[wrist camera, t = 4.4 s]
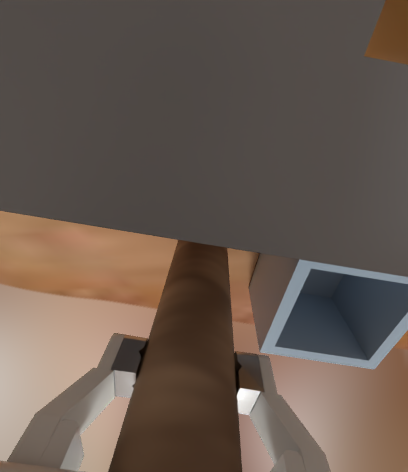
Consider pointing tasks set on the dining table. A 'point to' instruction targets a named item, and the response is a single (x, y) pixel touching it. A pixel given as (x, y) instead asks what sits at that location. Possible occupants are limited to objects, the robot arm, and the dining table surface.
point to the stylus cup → (327, 311)
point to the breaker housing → (209, 124)
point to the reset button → (391, 33)
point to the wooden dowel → (186, 375)
